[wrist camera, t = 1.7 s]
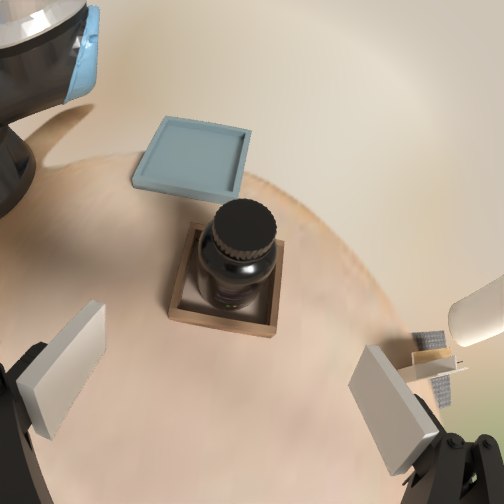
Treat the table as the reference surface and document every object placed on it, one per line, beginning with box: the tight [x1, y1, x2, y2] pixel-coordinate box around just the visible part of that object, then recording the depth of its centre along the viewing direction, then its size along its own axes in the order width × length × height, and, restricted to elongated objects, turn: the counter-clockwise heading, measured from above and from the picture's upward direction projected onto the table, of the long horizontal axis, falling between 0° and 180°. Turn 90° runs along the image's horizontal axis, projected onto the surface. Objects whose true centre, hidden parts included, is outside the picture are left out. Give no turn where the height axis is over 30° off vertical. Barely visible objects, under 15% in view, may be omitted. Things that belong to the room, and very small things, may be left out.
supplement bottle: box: [197, 198, 278, 311], centre depth 27 cm, size 7×7×12 cm
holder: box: [168, 222, 284, 338], centre depth 31 cm, size 11×11×2 cm
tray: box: [132, 116, 252, 204], centre depth 39 cm, size 14×14×2 cm
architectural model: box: [397, 347, 468, 383], centre depth 28 cm, size 3×7×7 cm, turn 89°
